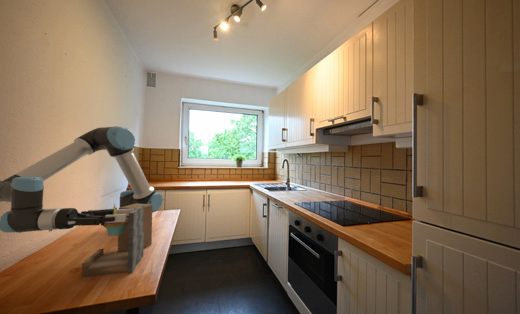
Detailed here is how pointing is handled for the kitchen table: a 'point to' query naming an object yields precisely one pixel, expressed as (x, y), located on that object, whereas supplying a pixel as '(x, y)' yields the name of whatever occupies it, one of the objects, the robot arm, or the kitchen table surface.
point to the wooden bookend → (119, 260)
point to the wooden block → (147, 228)
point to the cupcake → (116, 226)
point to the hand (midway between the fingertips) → (129, 214)
